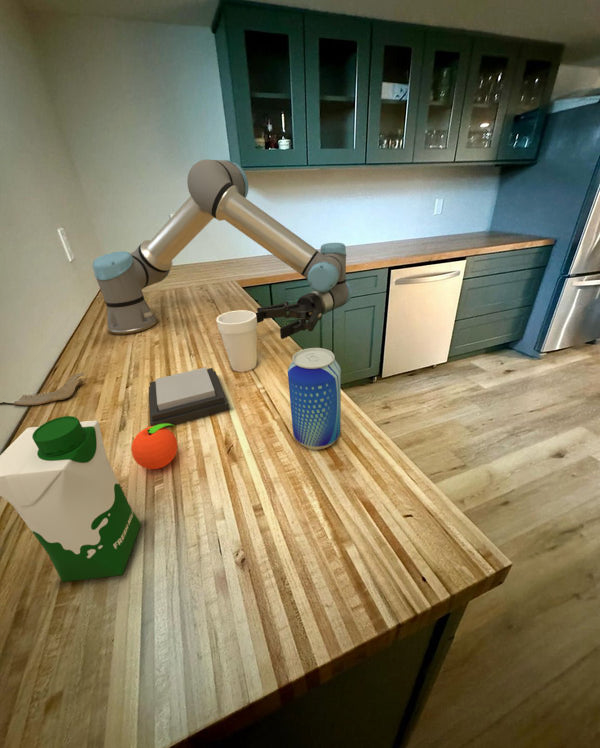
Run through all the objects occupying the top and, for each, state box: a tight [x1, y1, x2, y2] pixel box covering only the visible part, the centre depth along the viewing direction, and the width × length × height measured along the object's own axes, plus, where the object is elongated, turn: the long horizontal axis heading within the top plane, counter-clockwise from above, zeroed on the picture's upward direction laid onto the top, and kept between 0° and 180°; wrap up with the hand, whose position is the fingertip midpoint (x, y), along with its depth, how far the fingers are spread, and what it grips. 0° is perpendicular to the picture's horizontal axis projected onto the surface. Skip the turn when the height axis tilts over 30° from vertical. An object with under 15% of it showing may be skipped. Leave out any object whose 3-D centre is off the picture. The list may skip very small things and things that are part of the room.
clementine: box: [130, 423, 178, 470], centre depth 55 cm, size 8×7×7 cm
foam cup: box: [215, 309, 259, 372], centre depth 82 cm, size 10×9×13 cm
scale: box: [148, 367, 230, 428], centre depth 72 cm, size 15×15×3 cm
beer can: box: [287, 347, 342, 451], centre depth 56 cm, size 8×8×16 cm
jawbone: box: [13, 371, 85, 406], centre depth 76 cm, size 9×20×2 cm, turn 118°
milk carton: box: [0, 415, 142, 583], centre depth 38 cm, size 9×9×20 cm
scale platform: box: [154, 367, 216, 411], centre depth 71 cm, size 11×11×2 cm
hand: (262, 328), depth 86 cm, fingers open, 13 cm apart
